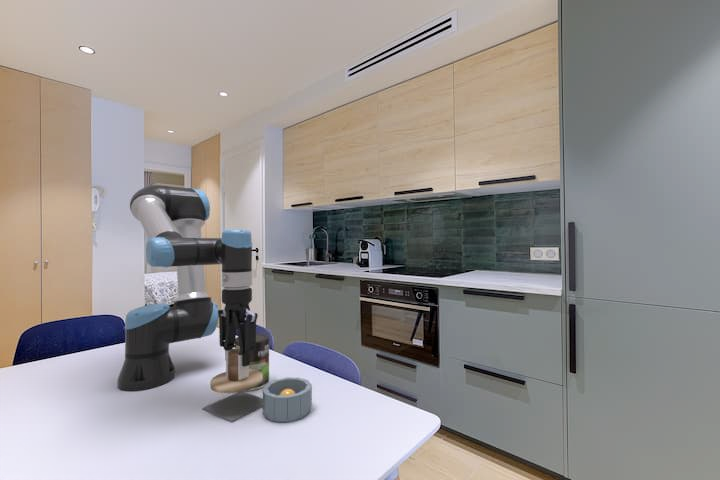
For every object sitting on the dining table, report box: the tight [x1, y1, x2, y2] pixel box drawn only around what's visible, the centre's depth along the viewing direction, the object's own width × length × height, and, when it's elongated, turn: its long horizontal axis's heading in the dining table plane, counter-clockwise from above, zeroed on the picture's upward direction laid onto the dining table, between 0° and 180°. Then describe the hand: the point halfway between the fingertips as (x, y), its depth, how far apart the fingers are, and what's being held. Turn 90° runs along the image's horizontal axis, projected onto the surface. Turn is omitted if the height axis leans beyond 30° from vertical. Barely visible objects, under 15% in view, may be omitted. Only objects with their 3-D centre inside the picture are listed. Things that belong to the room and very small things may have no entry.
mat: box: [202, 391, 263, 423], centre depth 88 cm, size 12×12×1 cm
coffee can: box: [234, 333, 270, 392], centre depth 102 cm, size 10×10×14 cm
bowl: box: [262, 376, 313, 424], centre depth 85 cm, size 12×12×6 cm
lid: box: [209, 348, 263, 394], centre depth 88 cm, size 13×13×8 cm
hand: (237, 375), depth 88 cm, fingers closed on lid, 4 cm apart
